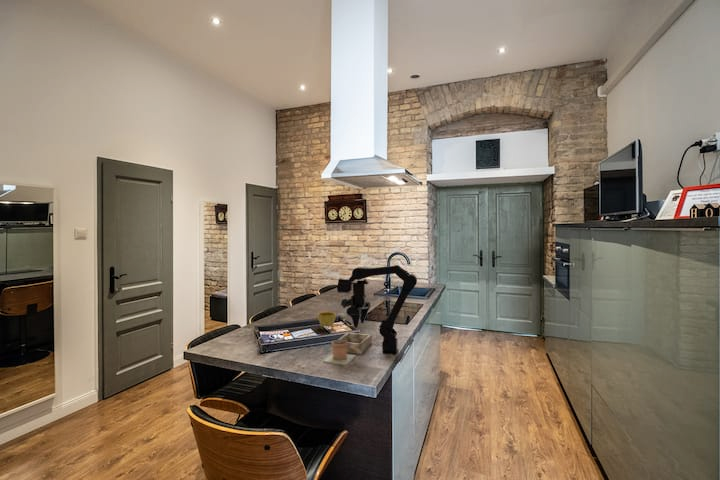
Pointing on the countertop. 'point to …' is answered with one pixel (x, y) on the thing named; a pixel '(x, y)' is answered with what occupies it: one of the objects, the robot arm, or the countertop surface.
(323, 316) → the plant pot
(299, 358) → the countertop surface
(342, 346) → the terracotta pot
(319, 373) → the countertop surface
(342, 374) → the countertop surface
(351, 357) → the sage tile
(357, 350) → the cold frame
